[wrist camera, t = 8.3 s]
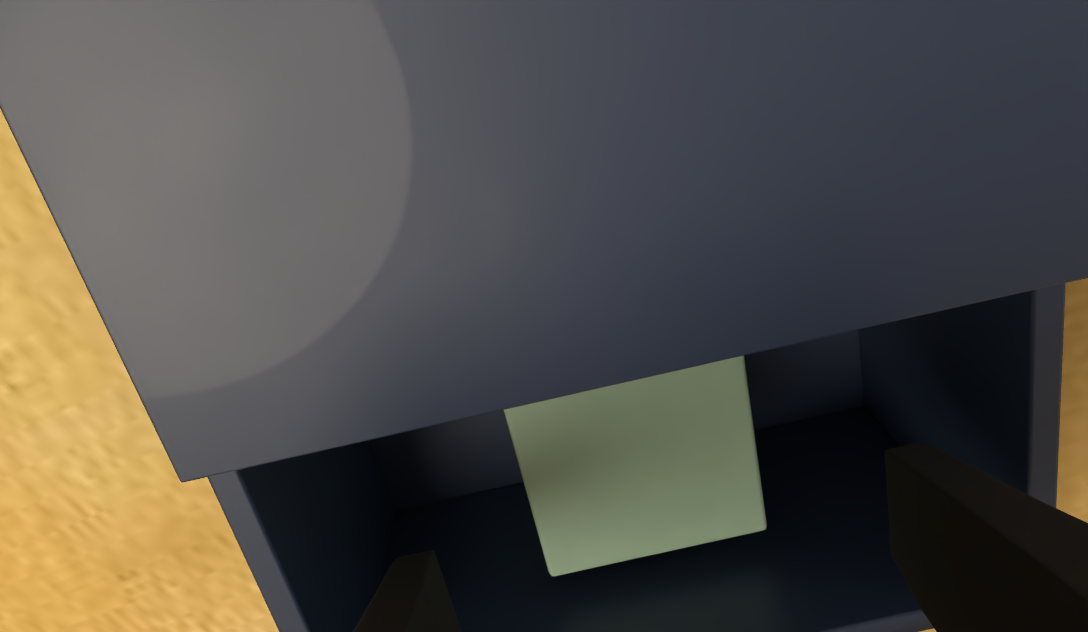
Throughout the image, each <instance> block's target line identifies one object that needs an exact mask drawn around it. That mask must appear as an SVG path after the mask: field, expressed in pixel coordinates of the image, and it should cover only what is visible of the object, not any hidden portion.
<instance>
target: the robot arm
mask: <svg viewBox="0 0 1088 632" xmlns="http://www.w3.org/2000/svg"><path fill="white" fill-rule="evenodd" d="M885 464H886V481H887V497H888V514H889V531H890V547H891V555H892V557H893V558H894V560H895V562H896V564H897V566H898V568H899V570H900V572H901V574H902V575H903V577H904V579H905V581H906V583H907V585H908V587H909V588H910V590H911V592H912V594H913V595H914V597H915V599H916V601H917V602H918V604H919V606H920V608H921V610H922V611H923V613H924V614H925V616H926V617H927V619H928V620H929V621H930V623H931V624H932V626H933V627H934V629H935V630H936V631H937V632H1088V523H1086V522H1084V521H1082V520H1080V519H1077V518H1075V517H1073V516H1071V515H1069V514H1067V513H1065V512H1062V511H1060V510H1058V509H1056V508H1054V507H1052V506H1050V505H1048V504H1046V503H1044V502H1042V501H1040V500H1038V499H1036V498H1034V497H1032V496H1030V495H1028V494H1026V493H1024V492H1022V491H1020V490H1018V489H1016V488H1014V487H1012V486H1010V485H1008V484H1006V483H1004V482H1002V481H1000V480H998V479H996V478H994V477H993V476H991V475H989V474H987V473H985V472H983V471H981V470H979V469H977V468H975V467H973V466H971V465H970V464H968V463H966V462H964V461H962V460H960V459H958V458H956V457H954V456H952V455H950V454H948V453H946V452H945V451H943V450H941V449H939V448H937V447H935V446H932V445H930V444H928V443H926V442H924V441H923V442H918V443H914V444H909V445H905V446H900V447H896V448H891V449H887V450H885ZM353 632H462V630H461V627H460V624H459V622H458V619H457V616H456V613H455V610H454V607H453V604H452V601H451V598H450V595H449V593H448V590H447V587H446V584H445V581H444V578H443V575H442V572H441V569H440V567H439V564H438V561H437V558H436V555H435V552H434V550H429V551H425V552H420V553H415V554H411V555H406V556H402V557H397V558H396V559H395V561H394V562H393V563H392V565H391V567H390V568H389V570H388V572H387V574H386V575H385V577H384V579H383V581H382V582H381V584H380V586H379V588H378V589H377V591H376V593H375V595H374V597H373V598H372V600H371V602H370V604H369V605H368V607H367V609H366V610H365V612H364V614H363V616H362V617H361V619H360V621H359V623H358V624H357V626H356V628H355V629H354V631H353Z"/></svg>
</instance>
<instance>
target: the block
mask: <svg viewBox="0 0 1088 632" xmlns="http://www.w3.org/2000/svg"><path fill="white" fill-rule="evenodd" d="M504 413H505V417H506V420H507V424H508V428H509V431H510V435H511V438H512V442H513V446H514V449H515V453H516V456H517V460H518V464H519V467H520V471H521V474H522V478H523V482H524V485H525V489H526V492H527V496H528V500H529V503H530V507H531V510H532V514H533V518H534V521H535V525H536V528H537V532H538V536H539V539H540V543H541V546H542V550H543V554H544V557H545V561H546V564H547V568H548V572H549V573H550V575H551V576H559V575H564V574H568V573H573V572H577V571H582V570H586V569H591V568H595V567H600V566H605V565H609V564H614V563H618V562H623V561H627V560H632V559H636V558H641V557H645V556H650V555H655V554H659V553H664V552H668V551H673V550H677V549H682V548H686V547H691V546H695V545H700V544H705V543H709V542H714V541H718V540H723V539H727V538H732V537H736V536H741V535H745V534H750V533H755V532H759V531H763V530H765V529H766V527H767V522H766V515H765V508H764V500H763V493H762V485H761V478H760V471H759V463H758V456H757V448H756V441H755V434H754V426H753V419H752V411H751V404H750V397H749V389H748V382H747V375H746V367H745V360H744V356H739V357H735V358H731V359H726V360H722V361H717V362H713V363H708V364H704V365H700V366H695V367H691V368H686V369H682V370H678V371H673V372H669V373H664V374H660V375H655V376H651V377H647V378H642V379H638V380H633V381H629V382H624V383H620V384H616V385H611V386H607V387H602V388H598V389H594V390H589V391H585V392H580V393H576V394H571V395H567V396H563V397H558V398H554V399H549V400H545V401H540V402H536V403H532V404H527V405H523V406H518V407H514V408H509V409H505V410H504Z"/></svg>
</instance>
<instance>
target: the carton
mask: <svg viewBox="0 0 1088 632" xmlns="http://www.w3.org/2000/svg"><path fill="white" fill-rule="evenodd" d="M0 108H1V110H2V113H3V115H4V117H5V119H6V121H7V123H8V125H9V127H10V129H11V131H12V133H13V135H14V137H15V139H16V142H17V144H18V146H19V148H20V150H21V152H22V154H23V156H24V158H25V160H26V162H27V164H28V166H29V168H30V171H31V173H32V175H33V177H34V179H35V181H36V183H37V185H38V187H39V189H40V191H41V193H42V195H43V197H44V200H45V202H46V204H47V206H48V208H49V210H50V212H51V214H52V216H53V218H54V220H55V222H56V224H57V226H58V229H59V231H60V233H61V235H62V237H63V239H64V241H65V243H66V245H67V247H68V249H69V251H70V253H71V255H72V258H73V260H74V262H75V264H76V266H77V268H78V270H79V272H80V274H81V276H82V278H83V280H84V282H85V284H86V287H87V289H88V291H89V293H90V295H91V297H92V299H93V301H94V303H95V305H96V307H97V309H98V311H99V313H100V316H101V318H102V320H103V322H104V324H105V326H106V328H107V330H108V332H109V334H110V336H111V338H112V340H113V342H114V345H115V347H116V349H117V351H118V353H119V355H120V357H121V359H122V361H123V363H124V365H125V367H126V369H127V372H128V374H129V376H130V378H131V380H132V382H133V384H134V386H135V388H136V390H137V392H138V394H139V396H140V398H141V401H142V403H143V405H144V407H145V409H146V411H147V413H148V415H149V417H150V419H151V421H152V423H153V425H154V427H155V430H156V432H157V434H158V436H159V438H160V440H161V442H162V444H163V446H164V448H165V450H166V452H167V454H168V456H169V459H170V461H171V463H172V465H173V467H174V469H175V471H176V473H177V475H178V477H179V479H180V481H181V482H187V481H191V480H196V479H200V478H204V477H208V479H209V481H210V484H211V486H212V488H213V490H214V492H215V494H216V496H217V499H218V501H219V503H220V505H221V507H222V509H223V511H224V514H225V516H226V518H227V520H228V522H229V524H230V527H231V529H232V531H233V533H234V535H235V537H236V539H237V542H238V544H239V546H240V548H241V550H242V552H243V554H244V557H245V559H246V561H247V563H248V565H249V567H250V570H251V572H252V574H253V576H254V578H255V580H256V582H257V585H258V587H259V589H260V591H261V593H262V595H263V597H264V600H265V602H266V604H267V606H268V608H269V610H270V612H271V615H272V617H273V619H274V621H275V623H276V625H277V628H278V630H279V632H353V631H354V629H355V628H356V626H357V624H358V623H359V621H360V619H361V617H362V616H363V614H364V612H365V610H366V609H367V607H368V605H369V604H370V602H371V600H372V598H373V597H374V595H375V593H376V591H377V589H378V588H379V586H380V584H381V582H382V581H383V579H384V577H385V575H386V574H387V572H388V570H389V568H390V567H391V565H392V563H393V562H394V561H395V559H396V558H397V557H402V556H406V555H411V554H415V553H420V552H425V551H429V550H434V552H435V555H436V558H437V561H438V564H439V567H440V569H441V572H442V575H443V578H444V581H445V584H446V587H447V590H448V593H449V595H450V598H451V601H452V604H453V607H454V610H455V613H456V616H457V619H458V622H459V624H460V627H461V630H462V632H919V631H924V630H928V629H933V628H934V627H933V626H932V624H931V623H930V621H929V620H928V619H927V617H926V616H925V614H924V613H923V611H922V610H921V608H920V606H919V604H918V602H917V601H916V599H915V597H914V595H913V594H912V592H911V590H910V588H909V587H908V585H907V583H906V581H905V579H904V577H903V575H902V574H901V572H900V570H899V568H898V566H897V564H896V562H895V560H894V558H893V557H892V555H891V547H890V531H889V514H888V497H887V481H886V464H885V450H887V449H891V448H896V447H900V446H905V445H909V444H914V443H918V442H923V441H924V442H926V443H928V444H930V445H932V446H935V447H937V448H939V449H941V450H943V451H945V452H946V453H948V454H950V455H952V456H954V457H956V458H958V459H960V460H962V461H964V462H966V463H968V464H970V465H971V466H973V467H975V468H977V469H979V470H981V471H983V472H985V473H987V474H989V475H991V476H993V477H994V478H996V479H998V480H1000V481H1002V482H1004V483H1006V484H1008V485H1010V486H1012V487H1014V488H1016V489H1018V490H1020V491H1022V492H1024V493H1026V494H1028V495H1030V496H1032V497H1034V498H1036V499H1038V500H1040V501H1042V502H1044V503H1046V504H1048V505H1050V506H1052V507H1054V508H1056V497H1057V473H1058V449H1059V426H1060V402H1061V378H1062V355H1063V331H1064V307H1065V283H1067V282H1071V281H1075V280H1080V279H1084V278H1088V0H0ZM739 356H744V360H745V367H746V375H747V382H748V389H749V397H750V404H751V411H752V419H753V426H754V434H755V441H756V448H757V456H758V463H759V471H760V478H761V485H762V493H763V500H764V508H765V515H766V522H767V527H766V529H765V530H763V531H759V532H755V533H750V534H745V535H741V536H736V537H732V538H727V539H723V540H718V541H714V542H709V543H705V544H700V545H695V546H691V547H686V548H682V549H677V550H673V551H668V552H664V553H659V554H655V555H650V556H645V557H641V558H636V559H632V560H627V561H623V562H618V563H614V564H609V565H605V566H600V567H595V568H591V569H586V570H582V571H577V572H573V573H568V574H564V575H559V576H551V575H550V573H549V572H548V568H547V564H546V561H545V557H544V554H543V550H542V546H541V543H540V539H539V536H538V532H537V528H536V525H535V521H534V518H533V514H532V510H531V507H530V503H529V500H528V496H527V492H526V489H525V485H524V482H523V478H522V474H521V471H520V467H519V464H518V460H517V456H516V453H515V449H514V446H513V442H512V438H511V435H510V431H509V428H508V424H507V420H506V417H505V413H504V410H505V409H509V408H514V407H518V406H523V405H527V404H532V403H536V402H540V401H545V400H549V399H554V398H558V397H563V396H567V395H571V394H576V393H580V392H585V391H589V390H594V389H598V388H602V387H607V386H611V385H616V384H620V383H624V382H629V381H633V380H638V379H642V378H647V377H651V376H655V375H660V374H664V373H669V372H673V371H678V370H682V369H686V368H691V367H695V366H700V365H704V364H708V363H713V362H717V361H722V360H726V359H731V358H735V357H739Z"/></svg>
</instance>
